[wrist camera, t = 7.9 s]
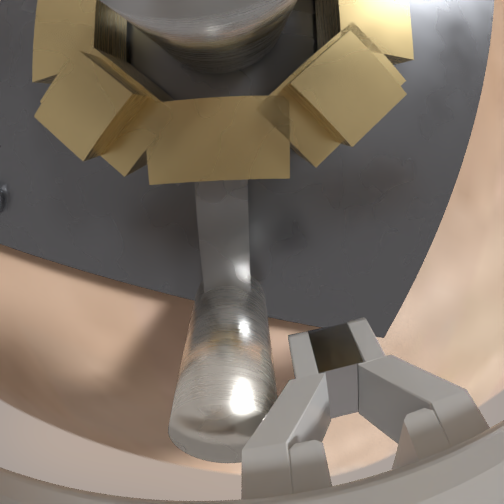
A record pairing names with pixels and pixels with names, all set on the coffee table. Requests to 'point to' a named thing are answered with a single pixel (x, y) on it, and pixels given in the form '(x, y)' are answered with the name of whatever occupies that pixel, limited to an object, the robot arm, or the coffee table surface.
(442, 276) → the coffee table surface
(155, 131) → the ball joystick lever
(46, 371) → the coffee table surface
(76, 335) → the coffee table surface
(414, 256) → the flange plate
